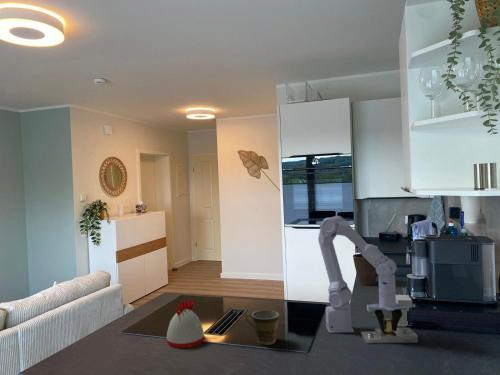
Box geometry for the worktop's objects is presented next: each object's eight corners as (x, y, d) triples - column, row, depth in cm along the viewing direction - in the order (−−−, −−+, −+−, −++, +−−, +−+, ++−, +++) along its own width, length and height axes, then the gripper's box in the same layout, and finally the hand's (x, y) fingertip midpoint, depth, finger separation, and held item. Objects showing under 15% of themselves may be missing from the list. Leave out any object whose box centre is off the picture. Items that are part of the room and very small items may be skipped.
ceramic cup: (283, 338, 142) (282, 311, 142) (273, 349, 133) (273, 320, 133) (252, 333, 148) (251, 307, 148) (240, 343, 139) (239, 316, 139)
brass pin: (385, 340, 137) (385, 321, 137) (383, 337, 140) (382, 318, 140) (394, 340, 137) (393, 321, 137) (391, 337, 140) (390, 318, 140)
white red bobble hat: (211, 339, 144) (210, 299, 144) (181, 351, 134) (180, 308, 134) (188, 330, 153) (187, 293, 153) (159, 341, 143) (158, 301, 143)
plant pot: (349, 281, 221) (348, 254, 221) (374, 279, 223) (373, 252, 223) (359, 288, 206) (359, 258, 206) (386, 286, 208) (385, 257, 208)
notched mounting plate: (366, 343, 135) (366, 334, 135) (361, 334, 143) (360, 327, 143) (417, 342, 135) (417, 334, 135) (409, 334, 142) (409, 326, 142)
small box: (413, 327, 149) (412, 300, 149) (398, 326, 150) (397, 300, 150) (409, 320, 157) (408, 294, 157) (394, 319, 158) (394, 294, 158)
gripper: (370, 296, 135) (371, 335, 135) (411, 295, 134) (412, 334, 134) (364, 291, 142) (365, 327, 142) (404, 290, 141) (405, 326, 142)
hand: (388, 330), depth 139 cm, fingers open, 4 cm apart
